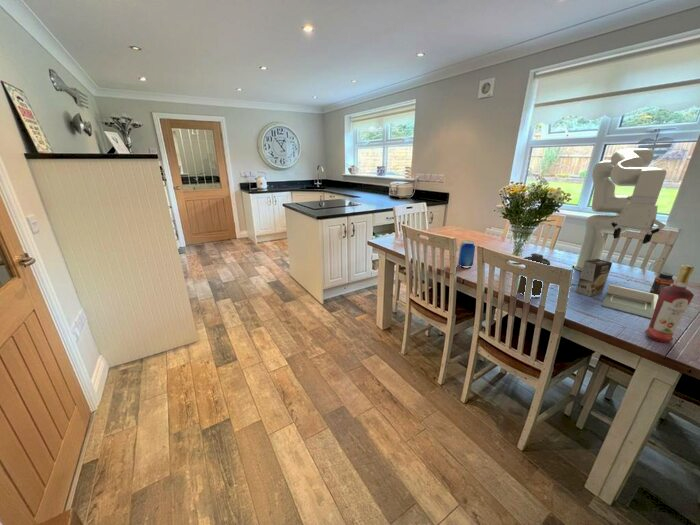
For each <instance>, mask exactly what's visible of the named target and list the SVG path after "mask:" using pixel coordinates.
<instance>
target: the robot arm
mask: <svg viewBox="0 0 700 525" xmlns="http://www.w3.org/2000/svg"><path fill="white" fill-rule="evenodd" d="M653 159H654V152H653V151H652V150H651V149H650V148H625V149H619V150H617V151H616V152H614V153H613V154H612V156H611V157H610V160H602V161H599V162H597V163H596V164H595V165H594V167H593V168H592V173H591V174H592V176H591V177H592V182H593V196H592V201H591V210H592V211H593V212H594V213H600V214H594V215H590V216H589V217H587V219H586V221H585V228H584V235H583V239H582V244H581V247H580V251H579V255H578V258H577V262H576V263H573V264H572V267H573V266H574V268H573V269H574V270H577V271H581V272H582V269H583V265H584V262H585V261H587V260H593V259H600V260H601V258H602V254H603V253H604V252H603V251H604V247H605V244H606V239H605V237H604V235H603V234H613V235H612V236H613V239H618V238H619V237H620V234H624V233H625V232H627V230H628V229H629V228H630V229H638V230H644V231H645V232H646V234H644V237H643V240H642V244H644V245H645V244H648V243H649V242H651V239H652V237H653V235H655V234H656V233H659V232H660V231H662V230H663V229H664V228H666V224H664V223H663V222H661V221H660V220H657V219H656V218H657V215H658V214H657V213H658V208H659V207H658V206H659V204H657V202H658V199H659V197H660V196H659V195H660V193H661V191H662V187H663V184H664V181H665V179H666V177H667V174H668V173H667V170H666V169H664V168H658V167H648V166H649V165H650V164H651V163H652V162H653ZM616 186H618V187H619V186H621V187H634V188H633V191H632V195H631V196H628V195H617V194H615V193H616V192H615V191H616ZM601 213H602V214H601ZM609 214H615V215H609ZM655 225H656V226H657V227H656V229H653V227H654V226H655Z"/></svg>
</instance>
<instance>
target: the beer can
mask: <svg viewBox="0 0 700 525" xmlns="http://www.w3.org/2000/svg"><path fill="white" fill-rule="evenodd" d="M475 251H476V244H475V241H473V240H468V239H467V240H463V241H462V242H461V243H460V245H459V255H458V262H457V264H459V265H461V266H472V265H474V260H475V254H476V253H475ZM459 265H458V266H459ZM472 267H473V266H472Z"/></svg>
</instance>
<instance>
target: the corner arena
mask: <svg viewBox="0 0 700 525" xmlns="http://www.w3.org/2000/svg"><path fill="white" fill-rule="evenodd" d="M657 300H658V295H657V294H653V293H650V292H648V291H643V290H638V289H634V288H628V287H624V286H619V285H615V284H608V287H607V291H606V293H605V297H604V299H603V301H602V304H601V307H602V308H607V309H610V310H615V311H619V312H623V313H627V314H631V315H634V316H638V317H640V318H641V317H642V318H646V319H650V320H651V319H652V316H653V313H654V310H655V307H656V303H657Z"/></svg>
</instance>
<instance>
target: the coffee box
mask: <svg viewBox="0 0 700 525" xmlns="http://www.w3.org/2000/svg"><path fill="white" fill-rule="evenodd" d="M612 264H613V262H611V261H608V260H605V259H601V258H600V259H593V260H587V261H585V262H584V265H583V269H582V271H581V273H580V276H579V280H578V283H577V286H576V290H575V292H577V293H580V294H582V295H585V296H587V297H592V296H596V295H601V294H603V293H604V289H605V286H606V283H607V280H608V277H609V274H610V271H611V268H612Z"/></svg>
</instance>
